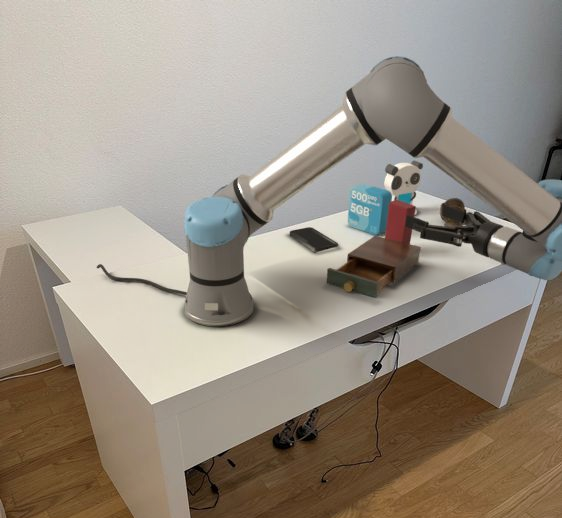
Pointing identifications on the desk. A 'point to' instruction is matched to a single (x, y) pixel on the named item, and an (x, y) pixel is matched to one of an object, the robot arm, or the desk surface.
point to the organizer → (388, 254)
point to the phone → (313, 239)
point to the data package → (369, 208)
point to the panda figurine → (403, 181)
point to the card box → (399, 221)
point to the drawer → (360, 277)
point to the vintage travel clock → (456, 204)
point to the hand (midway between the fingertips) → (425, 215)
